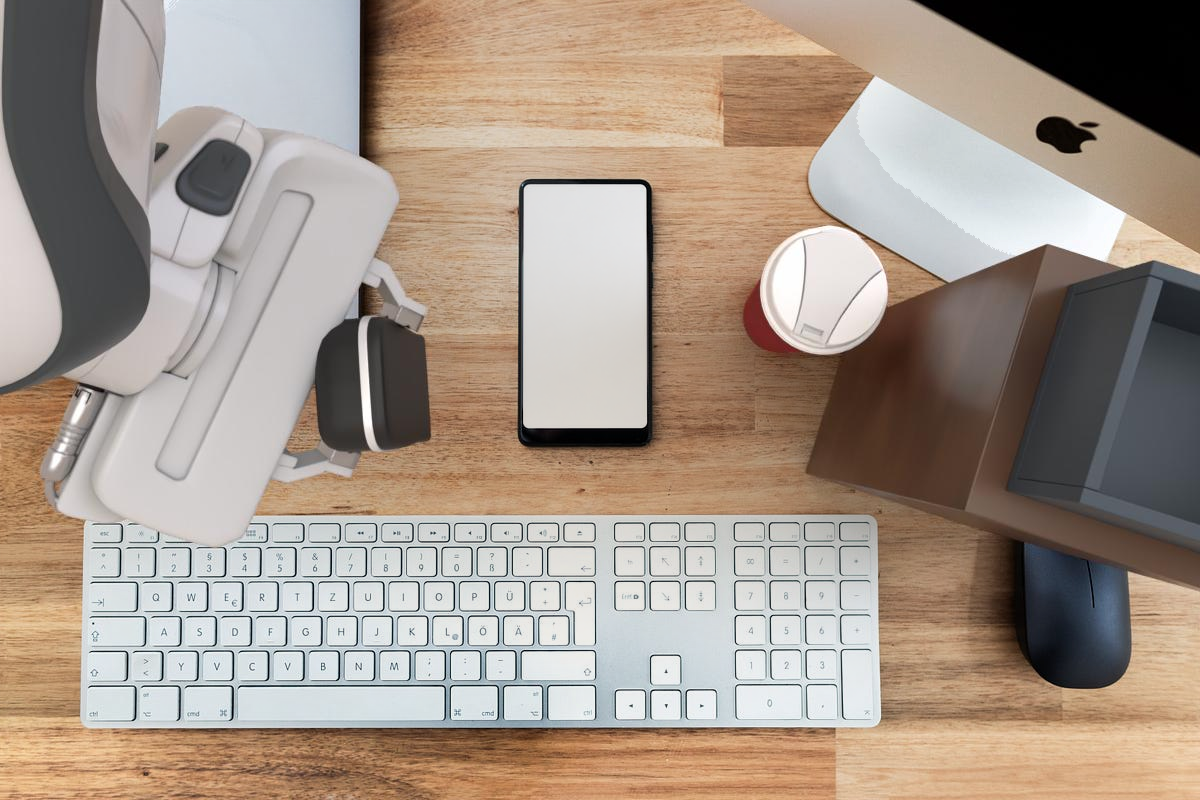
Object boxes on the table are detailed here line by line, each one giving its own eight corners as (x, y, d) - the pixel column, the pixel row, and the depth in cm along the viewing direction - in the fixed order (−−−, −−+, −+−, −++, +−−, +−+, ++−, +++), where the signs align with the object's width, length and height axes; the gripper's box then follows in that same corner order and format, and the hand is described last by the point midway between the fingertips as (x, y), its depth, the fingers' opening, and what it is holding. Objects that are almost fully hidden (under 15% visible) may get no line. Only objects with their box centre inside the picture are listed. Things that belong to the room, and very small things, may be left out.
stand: (852, 320, 65) (1047, 242, 37) (1031, 377, 65) (1362, 343, 37) (804, 473, 64) (963, 512, 36) (983, 530, 64) (1281, 614, 36)
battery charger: (364, 335, 53) (299, 313, 42) (426, 331, 53) (378, 308, 42) (371, 449, 53) (308, 458, 41) (433, 444, 53) (387, 453, 41)
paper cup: (808, 383, 65) (867, 372, 51) (713, 345, 65) (745, 324, 51) (846, 286, 65) (915, 248, 51) (751, 248, 65) (793, 200, 51)
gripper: (33, 535, 35) (329, 588, 45) (248, 78, 35) (495, 229, 45) (9, 481, 39) (282, 540, 49) (199, 76, 40) (433, 214, 49)
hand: (385, 389), depth 47 cm, fingers closed on battery charger, 7 cm apart
